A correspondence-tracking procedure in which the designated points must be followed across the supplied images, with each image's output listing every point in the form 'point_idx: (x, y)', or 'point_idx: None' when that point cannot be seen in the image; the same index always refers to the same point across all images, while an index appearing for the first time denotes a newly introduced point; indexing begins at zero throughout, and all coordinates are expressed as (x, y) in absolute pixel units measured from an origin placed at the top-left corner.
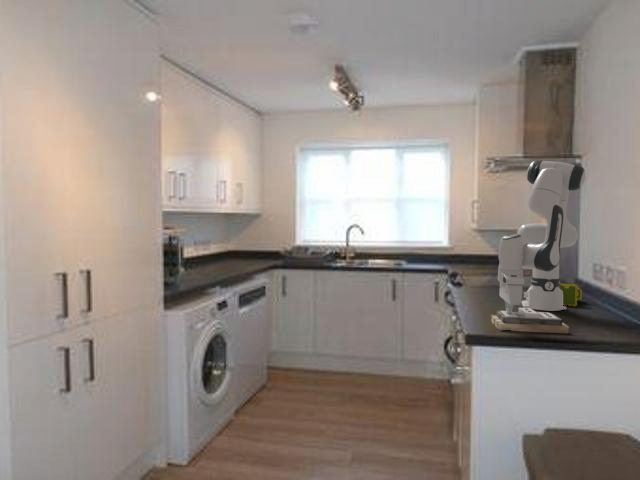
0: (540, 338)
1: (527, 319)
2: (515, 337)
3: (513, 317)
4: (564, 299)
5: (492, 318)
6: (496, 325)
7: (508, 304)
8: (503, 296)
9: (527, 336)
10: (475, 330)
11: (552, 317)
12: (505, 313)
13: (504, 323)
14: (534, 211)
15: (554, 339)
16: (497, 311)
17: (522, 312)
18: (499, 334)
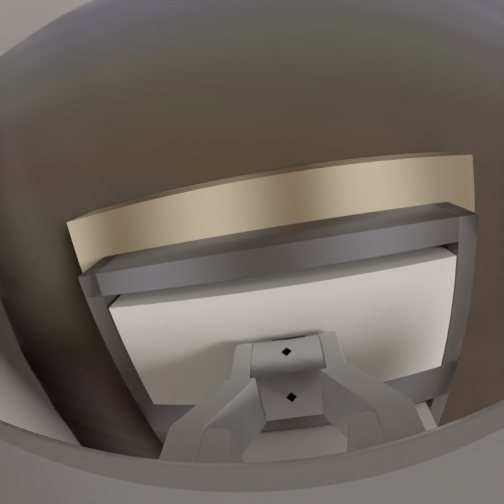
0: (58, 389)
1: (161, 434)
2: (6, 292)
3: (138, 365)
4: None
5: (397, 157)
6: (192, 186)
7: (169, 440)
8: (423, 498)
9: (53, 350)
10: (45, 61)
11: None
12: (284, 317)
13: (90, 264)
14: None
15: (80, 426)
16: (448, 224)
17: (286, 453)
18: (11, 214)
